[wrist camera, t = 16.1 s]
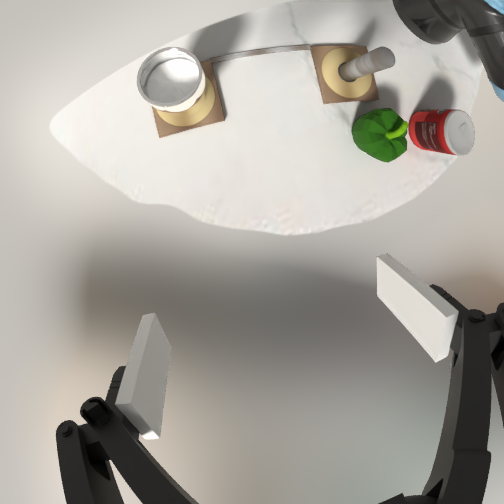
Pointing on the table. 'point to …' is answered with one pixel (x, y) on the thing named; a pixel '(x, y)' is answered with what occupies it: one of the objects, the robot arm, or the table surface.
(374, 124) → the bell pepper
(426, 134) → the canned food
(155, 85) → the beer glass
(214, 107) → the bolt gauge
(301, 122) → the table surface
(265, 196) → the table surface
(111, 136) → the table surface
